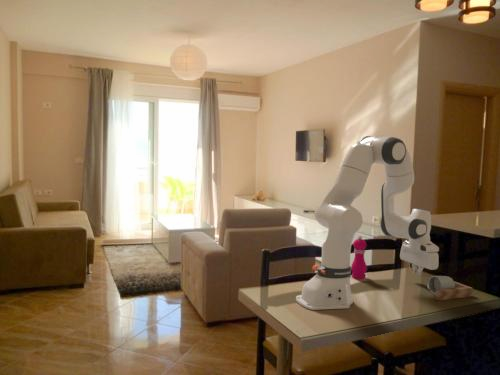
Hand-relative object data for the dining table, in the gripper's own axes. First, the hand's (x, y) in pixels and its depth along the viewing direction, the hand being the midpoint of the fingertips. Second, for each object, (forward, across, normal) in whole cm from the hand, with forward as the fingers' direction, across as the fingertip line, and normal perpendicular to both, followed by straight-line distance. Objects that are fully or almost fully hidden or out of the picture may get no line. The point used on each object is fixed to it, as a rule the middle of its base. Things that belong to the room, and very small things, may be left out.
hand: (417, 274), depth 185 cm
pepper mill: (+5, -17, -19) cm, 26 cm away
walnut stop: (+4, +14, +2) cm, 15 cm away
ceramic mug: (+5, +12, +1) cm, 13 cm away
